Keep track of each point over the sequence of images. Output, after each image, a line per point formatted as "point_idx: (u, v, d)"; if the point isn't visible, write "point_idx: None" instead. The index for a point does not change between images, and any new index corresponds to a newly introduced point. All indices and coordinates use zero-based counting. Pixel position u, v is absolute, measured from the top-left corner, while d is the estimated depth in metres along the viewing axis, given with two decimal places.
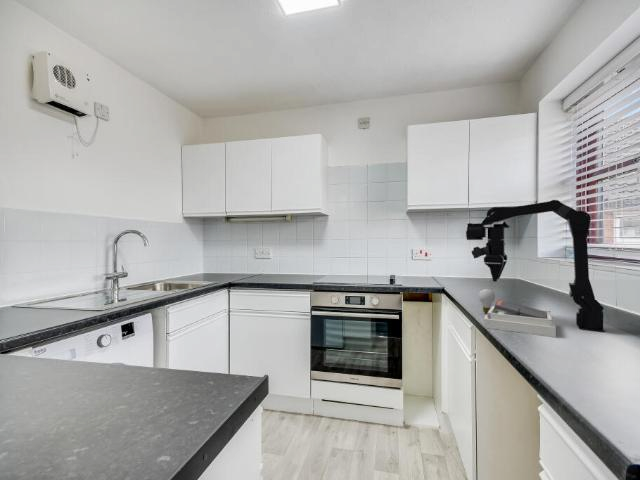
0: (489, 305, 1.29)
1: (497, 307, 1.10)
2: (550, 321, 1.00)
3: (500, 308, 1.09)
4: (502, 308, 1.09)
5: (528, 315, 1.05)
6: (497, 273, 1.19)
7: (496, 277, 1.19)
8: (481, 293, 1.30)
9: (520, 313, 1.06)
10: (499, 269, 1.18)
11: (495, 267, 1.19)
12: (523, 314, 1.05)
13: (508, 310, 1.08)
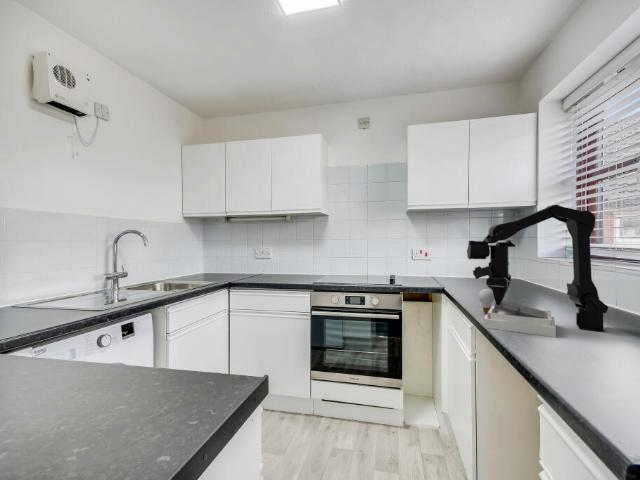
0: (489, 305, 1.29)
1: (497, 307, 1.10)
2: (550, 321, 1.00)
3: (500, 308, 1.09)
4: (502, 308, 1.09)
5: (528, 315, 1.05)
6: (500, 296, 1.09)
7: (499, 301, 1.10)
8: (481, 293, 1.30)
9: (520, 313, 1.06)
10: (503, 292, 1.08)
11: (499, 289, 1.09)
12: (523, 314, 1.05)
13: (508, 310, 1.08)
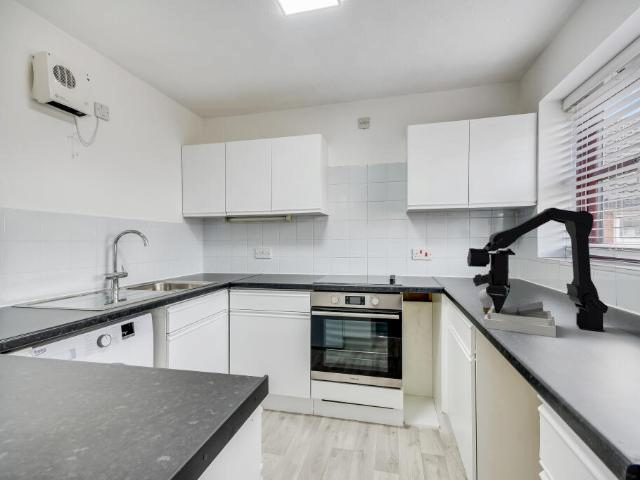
0: (489, 305, 1.29)
1: None
2: (550, 321, 1.00)
3: None
4: None
5: (527, 311, 1.05)
6: (500, 304, 1.09)
7: (499, 309, 1.10)
8: (481, 293, 1.30)
9: (520, 312, 1.06)
10: (502, 301, 1.09)
11: (498, 298, 1.10)
12: (523, 312, 1.05)
13: (508, 314, 1.08)
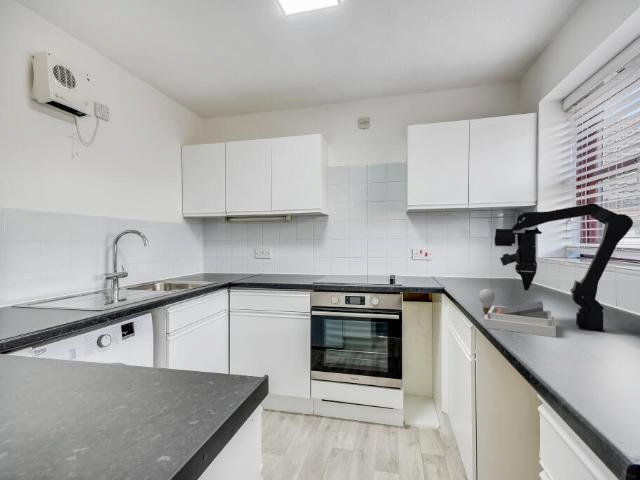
0: (489, 305, 1.29)
1: None
2: (550, 321, 1.00)
3: None
4: None
5: (527, 311, 1.05)
6: (529, 281, 1.13)
7: (528, 286, 1.13)
8: (481, 293, 1.30)
9: (520, 312, 1.06)
10: (531, 277, 1.12)
11: (527, 275, 1.13)
12: (523, 312, 1.05)
13: (508, 314, 1.08)
